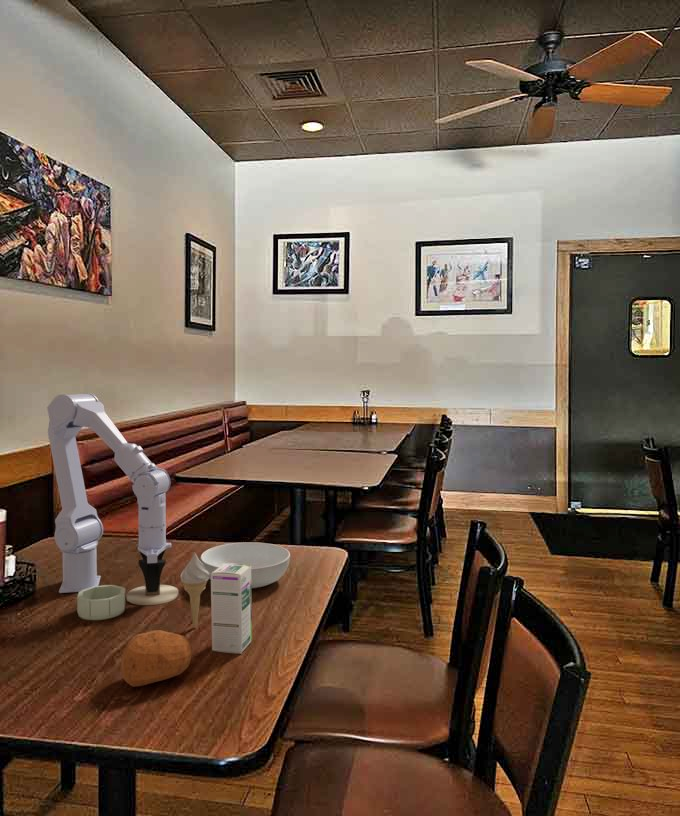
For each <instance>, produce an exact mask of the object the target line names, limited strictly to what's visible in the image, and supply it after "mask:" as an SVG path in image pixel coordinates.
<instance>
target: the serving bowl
mask: <svg viewBox="0 0 680 816" xmlns="http://www.w3.org/2000/svg"><path fill="white" fill-rule="evenodd" d="M199 560H200V562H201V563H202V564H203V565H204V567H205V570H207V571H208V572H209V574H210V575H209V576H208V577H209V579H208V580H210V581H211V573H212V572H213V571H215V570H216V569H217V568H219V567H220V566H222V564H223V563H225V564H227V563H237V564H246V565H250V566H251V588H252V589H257V588H261V587H265V586H268V585H272V584H273V583H275V582H277V581H278V580H279V579H281V578H282V577H283V576H284V575H285V573H286V572H287V570H288V567H289V565H290V560H291V553H290V551H289V550H288V549H286V547H283V546H280V545H276V544H273V543H267V542H266V543H265V542H252V541H251V542H250V541H249V542H246V541H245V542H244V541H243V542H242V541H241V542H233V543H226V544H225V543H224V544H221V545H216V546H212V547H211V548H209V549H207V550H204V552H202V554H201V555H200V558H199Z"/></svg>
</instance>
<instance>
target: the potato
mask: <svg viewBox="0 0 680 816" xmlns="http://www.w3.org/2000/svg"><path fill="white" fill-rule="evenodd" d="M192 655H193V647H192V644H191V643H190V641H189V639H188V638H187V637H185V636H183V635H181V634H178V633H174V632H170V631H165V630H161V629H155V630H150V631H147V632H142V633H138V634H135V635H134V636H133V637H131V639H130V640H129V641H128V643H127V644H126V646H124V649H123V652H122V655H121V658H120V665H121V666H120V668H121V675H122V679H123V681H125V682H126V683H127V684H128V685H129V686H131V687H143V686H146V685H150V684H153V683H156V682H161V681H164V680H167V679H171V678H173V677H174V678H175V677H176V676H179V675H181V674H183V673H184V672H185V671H186V670H187V669H188V668H189V665H190V663H191V660H192Z"/></svg>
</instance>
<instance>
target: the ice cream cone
mask: <svg viewBox="0 0 680 816" xmlns="http://www.w3.org/2000/svg"><path fill="white" fill-rule="evenodd" d="M209 575H210V574H209V572H208V571H207V570H205V567H204V565H203V564H202V563H201V559H200V558H199V557H198V555H197V554H196V552H195V551H194V552H193V554H192V556H191V558H190V560H189V561H188V562H187V564H186V566H185V568H183V570H182V572H181V573H180V574H179V576H180V577H179V578H180V582H181V583H182V585H183V589H184V591H185V592H187V594H188V595H189V601H190V602H189V603H190V610H191V617H192V626H193V628H194V629H196V628H197V627H198V622H199V620H198V619H199V610H200V602H201V601H200V600H201V594H202V592H203V591H204V590H205V589H206V585H207V583H208V581H209V580H210V579H209V577H208V576H209Z"/></svg>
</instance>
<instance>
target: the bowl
mask: <svg viewBox="0 0 680 816" xmlns="http://www.w3.org/2000/svg"><path fill="white" fill-rule="evenodd" d="M77 593H78V594H77V596H76V607H77V608H76V609H77V610H76V611H77V612H76V613H77V614H78V617H79V618H80V619H83V620H86V621H103V620H109V619H112V618H115V617H119V616H120V615H122V614H124V612H125V611H126V588H125V587H123V586H120V585H115V584H104V585H98V586H95V587H94V586H93V587H90V588H87V589H85V590H82V591H80V592H77Z"/></svg>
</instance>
